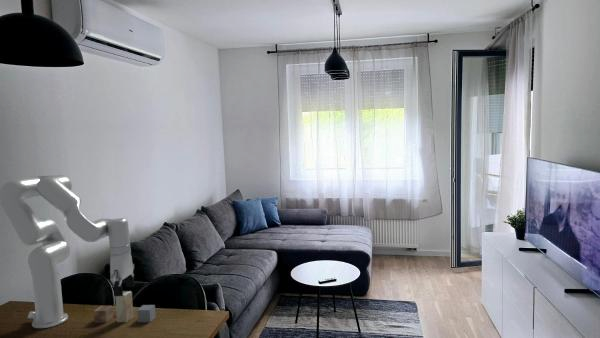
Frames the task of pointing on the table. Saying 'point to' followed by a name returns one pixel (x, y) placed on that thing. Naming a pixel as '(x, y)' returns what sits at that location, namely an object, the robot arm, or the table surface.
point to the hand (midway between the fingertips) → (124, 291)
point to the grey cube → (146, 313)
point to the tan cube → (103, 314)
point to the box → (124, 307)
